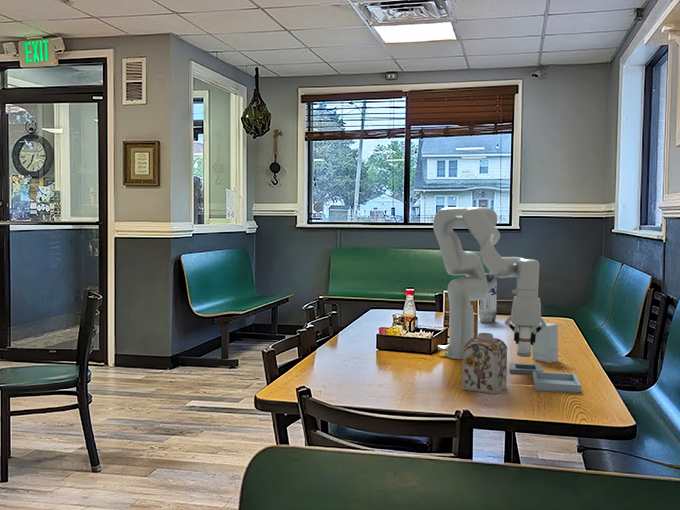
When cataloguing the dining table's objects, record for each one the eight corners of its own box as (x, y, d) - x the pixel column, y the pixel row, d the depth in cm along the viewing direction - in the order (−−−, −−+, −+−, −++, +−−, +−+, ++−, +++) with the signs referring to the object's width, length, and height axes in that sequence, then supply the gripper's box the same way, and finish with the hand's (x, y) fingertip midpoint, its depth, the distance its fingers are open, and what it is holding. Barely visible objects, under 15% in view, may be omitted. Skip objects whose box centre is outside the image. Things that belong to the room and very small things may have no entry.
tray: (535, 390, 214) (535, 382, 214) (532, 378, 230) (532, 371, 230) (580, 393, 211) (581, 385, 211) (575, 381, 226) (575, 373, 226)
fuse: (517, 356, 238) (518, 323, 236) (516, 353, 242) (518, 320, 241) (531, 357, 236) (532, 324, 235) (530, 354, 241) (532, 321, 240)
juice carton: (479, 322, 351) (480, 271, 349) (478, 319, 361) (479, 270, 359) (496, 323, 349) (497, 272, 348) (495, 320, 359) (496, 270, 358)
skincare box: (558, 362, 256) (559, 324, 255) (548, 364, 252) (549, 325, 251) (541, 358, 263) (541, 321, 262) (530, 360, 259) (531, 322, 258)
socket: (509, 374, 235) (510, 369, 235) (509, 366, 248) (509, 361, 248) (542, 376, 232) (542, 371, 232) (539, 368, 245) (540, 362, 245)
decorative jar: (473, 382, 224) (474, 329, 223) (507, 387, 218) (508, 332, 217) (460, 390, 214) (461, 334, 213) (496, 395, 208) (497, 338, 207)
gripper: (502, 293, 236) (500, 344, 237) (552, 296, 232) (549, 347, 233) (502, 291, 243) (500, 340, 244) (550, 293, 239) (548, 343, 241)
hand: (524, 343), depth 239 cm, fingers closed on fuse, 4 cm apart
